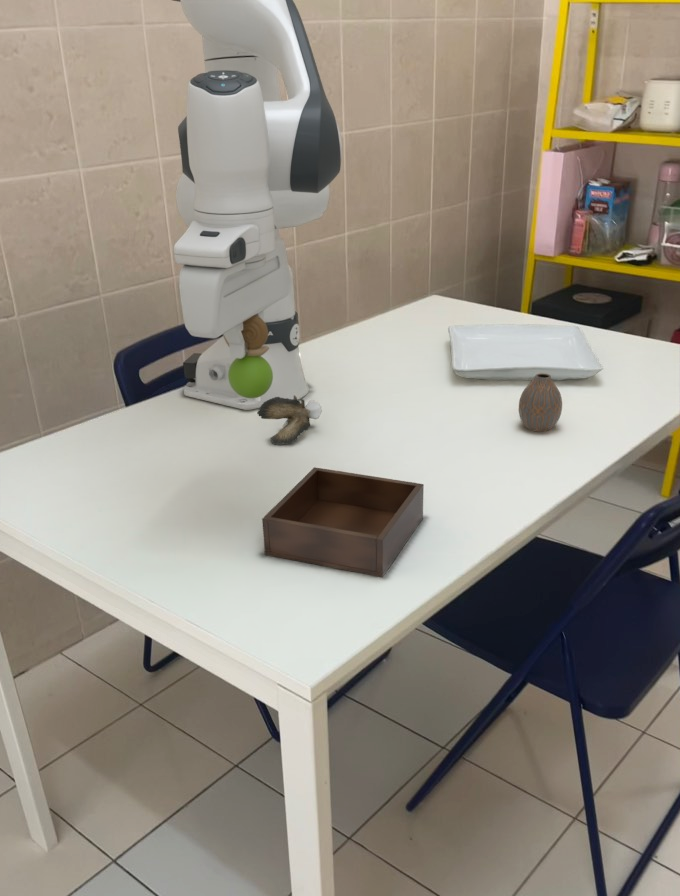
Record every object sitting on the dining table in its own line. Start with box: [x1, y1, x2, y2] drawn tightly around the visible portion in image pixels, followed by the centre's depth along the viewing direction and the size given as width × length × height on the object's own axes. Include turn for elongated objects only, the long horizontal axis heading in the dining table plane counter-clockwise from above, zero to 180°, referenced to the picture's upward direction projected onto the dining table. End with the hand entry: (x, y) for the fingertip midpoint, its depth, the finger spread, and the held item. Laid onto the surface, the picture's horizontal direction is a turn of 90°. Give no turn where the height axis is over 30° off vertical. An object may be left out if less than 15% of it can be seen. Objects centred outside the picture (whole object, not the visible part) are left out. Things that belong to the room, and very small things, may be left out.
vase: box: [518, 373, 563, 432], centre depth 141 cm, size 7×7×9 cm
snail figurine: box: [222, 315, 273, 398], centre depth 106 cm, size 5×6×12 cm
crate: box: [261, 466, 425, 578], centre depth 111 cm, size 16×16×5 cm
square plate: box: [447, 323, 604, 381], centre depth 170 cm, size 27×27×4 cm
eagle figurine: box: [257, 395, 323, 446], centre depth 140 cm, size 8×7×9 cm
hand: (245, 352), depth 106 cm, fingers closed on snail figurine
